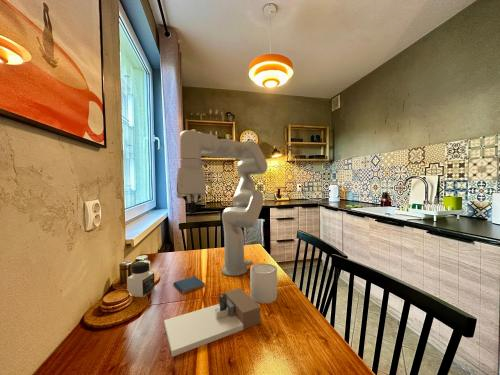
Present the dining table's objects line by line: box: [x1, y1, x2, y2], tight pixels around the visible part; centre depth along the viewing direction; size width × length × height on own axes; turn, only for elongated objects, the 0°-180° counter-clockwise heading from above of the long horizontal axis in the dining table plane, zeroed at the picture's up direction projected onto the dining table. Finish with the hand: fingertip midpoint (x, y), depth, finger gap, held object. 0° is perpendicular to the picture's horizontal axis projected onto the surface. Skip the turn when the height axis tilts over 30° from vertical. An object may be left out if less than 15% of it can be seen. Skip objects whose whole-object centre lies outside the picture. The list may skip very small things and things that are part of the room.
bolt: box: [214, 293, 235, 319], centre depth 70 cm, size 12×2×6 cm, turn 119°
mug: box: [249, 263, 278, 304], centre depth 84 cm, size 14×10×11 cm
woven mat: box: [172, 275, 206, 295], centre depth 92 cm, size 10×11×2 cm
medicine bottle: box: [126, 260, 156, 298], centre depth 86 cm, size 7×7×12 cm
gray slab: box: [163, 287, 261, 358], centre depth 66 cm, size 26×14×5 cm, turn 119°
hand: (191, 213), depth 82 cm, fingers closed
